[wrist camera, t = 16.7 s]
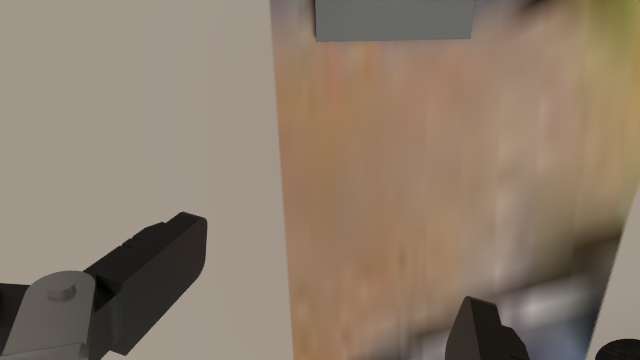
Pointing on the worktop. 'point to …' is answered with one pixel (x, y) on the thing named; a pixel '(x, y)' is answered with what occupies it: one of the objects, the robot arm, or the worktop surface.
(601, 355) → the travel mug
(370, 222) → the worktop surface
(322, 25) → the mat
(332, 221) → the worktop surface
